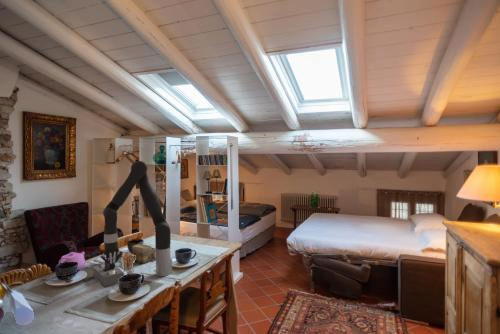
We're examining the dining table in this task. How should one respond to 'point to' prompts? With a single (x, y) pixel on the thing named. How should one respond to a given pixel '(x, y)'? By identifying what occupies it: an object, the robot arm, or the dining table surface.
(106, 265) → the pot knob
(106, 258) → the coffee mug
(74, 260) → the teapot
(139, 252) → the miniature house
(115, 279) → the console
